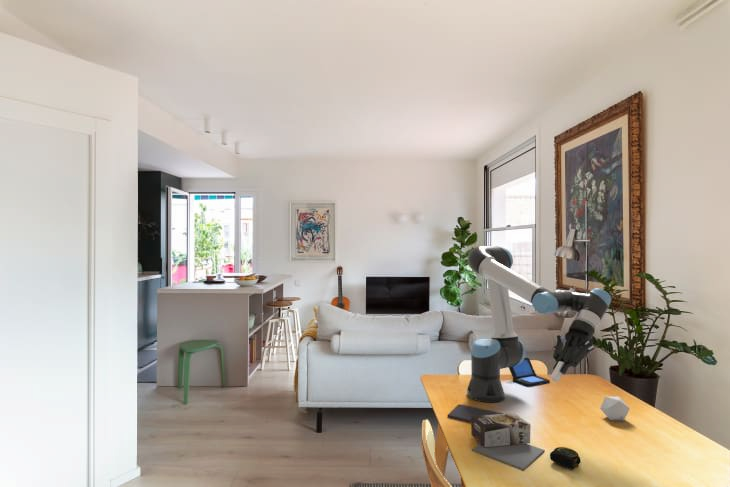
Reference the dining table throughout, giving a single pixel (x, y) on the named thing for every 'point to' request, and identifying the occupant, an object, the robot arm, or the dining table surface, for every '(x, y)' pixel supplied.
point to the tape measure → (565, 457)
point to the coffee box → (500, 430)
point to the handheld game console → (526, 374)
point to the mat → (511, 454)
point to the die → (614, 408)
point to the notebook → (468, 413)
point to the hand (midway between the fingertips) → (554, 379)
